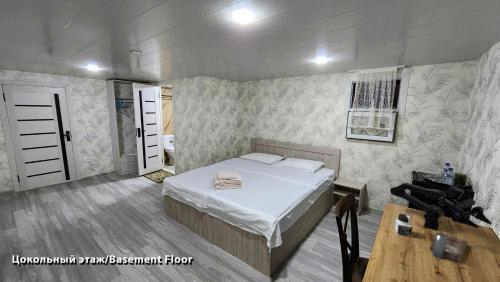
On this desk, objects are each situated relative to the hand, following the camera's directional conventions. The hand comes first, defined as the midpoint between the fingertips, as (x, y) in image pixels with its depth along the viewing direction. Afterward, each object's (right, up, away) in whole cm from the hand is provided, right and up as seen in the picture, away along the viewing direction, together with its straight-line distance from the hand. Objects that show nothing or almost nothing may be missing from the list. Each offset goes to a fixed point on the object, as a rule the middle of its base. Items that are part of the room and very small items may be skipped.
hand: (484, 225), depth 113 cm
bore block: (-15, -15, +5) cm, 22 cm away
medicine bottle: (-31, -13, +19) cm, 38 cm away
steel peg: (-27, -16, -2) cm, 31 cm away
